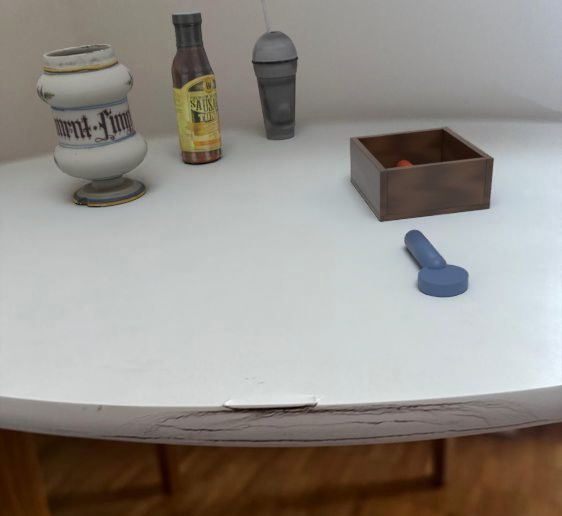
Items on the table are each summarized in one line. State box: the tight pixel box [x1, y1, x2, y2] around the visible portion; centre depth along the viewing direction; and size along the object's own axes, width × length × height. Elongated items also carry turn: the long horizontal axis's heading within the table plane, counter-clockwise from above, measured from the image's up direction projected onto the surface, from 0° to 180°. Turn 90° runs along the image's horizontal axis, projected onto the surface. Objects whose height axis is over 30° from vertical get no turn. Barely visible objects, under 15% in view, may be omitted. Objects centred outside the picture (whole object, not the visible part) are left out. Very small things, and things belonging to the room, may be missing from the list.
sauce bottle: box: [170, 11, 222, 164], centre depth 100 cm, size 7×6×20 cm
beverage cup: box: [251, 0, 299, 141], centre depth 108 cm, size 7×7×20 cm
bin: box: [349, 126, 495, 222], centre depth 83 cm, size 13×16×6 cm
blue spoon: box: [403, 229, 470, 298], centre depth 65 cm, size 12×4×2 cm, turn 7°
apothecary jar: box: [35, 43, 149, 207], centre depth 89 cm, size 12×12×18 cm
